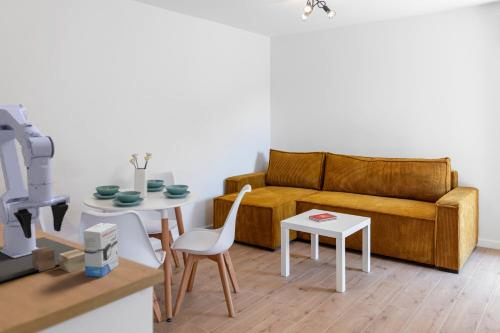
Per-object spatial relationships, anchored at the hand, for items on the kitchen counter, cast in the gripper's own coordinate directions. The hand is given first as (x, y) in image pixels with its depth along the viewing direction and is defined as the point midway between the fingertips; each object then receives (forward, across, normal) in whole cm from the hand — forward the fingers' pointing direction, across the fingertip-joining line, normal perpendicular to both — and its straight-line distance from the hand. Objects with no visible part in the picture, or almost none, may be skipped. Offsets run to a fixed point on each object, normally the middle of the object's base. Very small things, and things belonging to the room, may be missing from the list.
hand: (43, 234), depth 106 cm
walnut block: (+9, 0, 0) cm, 9 cm away
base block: (+10, +5, -6) cm, 12 cm away
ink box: (+10, +8, -14) cm, 19 cm away
